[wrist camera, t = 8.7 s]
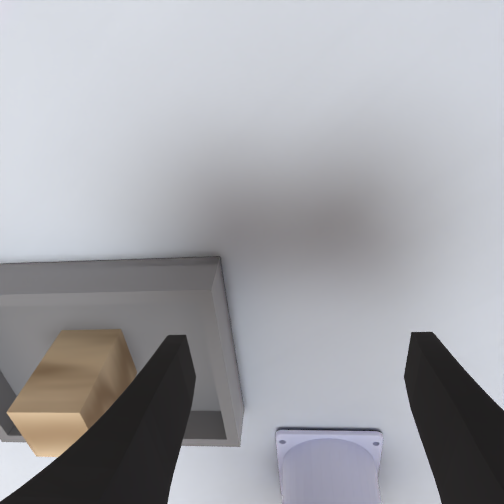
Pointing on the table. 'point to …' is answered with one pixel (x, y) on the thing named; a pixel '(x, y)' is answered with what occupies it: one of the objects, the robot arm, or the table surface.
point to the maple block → (72, 388)
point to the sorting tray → (126, 328)
